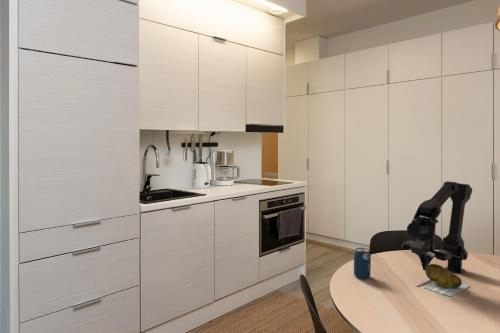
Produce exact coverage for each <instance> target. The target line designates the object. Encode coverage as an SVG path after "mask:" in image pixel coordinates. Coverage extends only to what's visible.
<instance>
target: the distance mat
mask: <svg viewBox="0 0 500 333" xmlns="http://www.w3.org/2000/svg"><path fill="white" fill-rule="evenodd" d="M469 287H470V285H467V284H464V283H462V284H461V286H459V287H456V288H446V287H442V286H440V285H438V284H437V283H435V282H433V283H431V284H429V285H427V286H425V287H424V288H423V289H425V290H429V291H431V292H435V293H438V294H441V295H443V296H446V297H451V298H452V296H455V295H456V294H458V293H461V292H463V291H464V290H466V289H469Z"/></svg>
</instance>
